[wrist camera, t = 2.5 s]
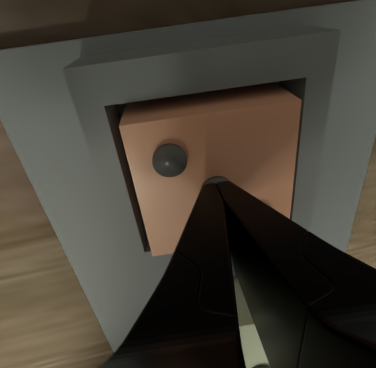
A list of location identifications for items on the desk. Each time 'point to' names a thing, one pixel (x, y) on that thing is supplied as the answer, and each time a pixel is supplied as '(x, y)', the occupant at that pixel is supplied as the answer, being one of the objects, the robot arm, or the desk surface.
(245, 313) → the tile
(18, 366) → the desk surface
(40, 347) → the desk surface
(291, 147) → the tile
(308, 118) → the board
